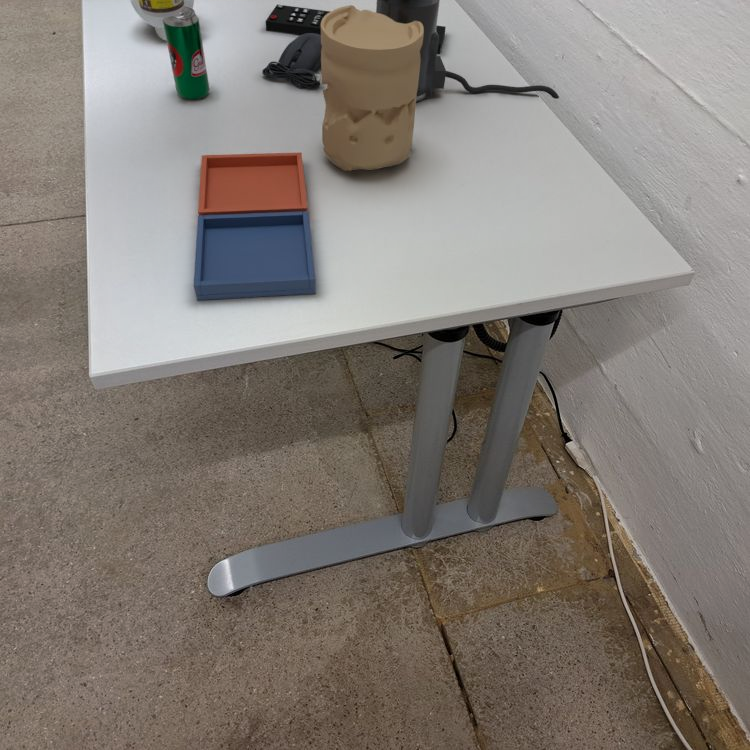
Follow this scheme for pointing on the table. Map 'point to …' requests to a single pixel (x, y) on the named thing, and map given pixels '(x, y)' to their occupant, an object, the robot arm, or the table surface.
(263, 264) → the blue tray
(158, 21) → the figurine
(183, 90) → the soda can
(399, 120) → the container
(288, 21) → the remote control
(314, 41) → the computer mouse
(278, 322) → the table surface
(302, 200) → the terracotta tray
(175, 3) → the supplement bottle
